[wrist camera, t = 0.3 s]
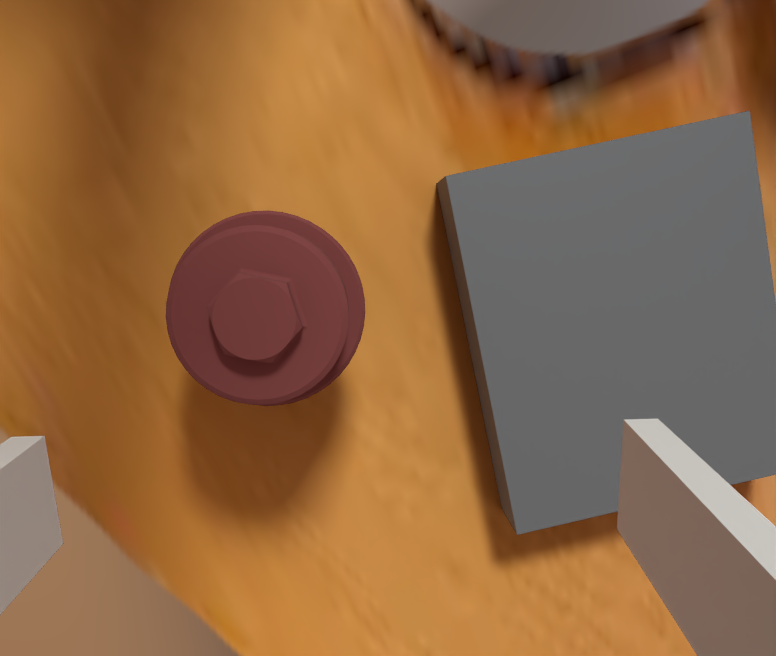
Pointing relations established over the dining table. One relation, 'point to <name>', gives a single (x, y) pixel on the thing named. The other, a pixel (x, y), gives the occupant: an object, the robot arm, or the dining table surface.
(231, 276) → the mechanical component
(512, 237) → the plate
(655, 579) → the robot arm
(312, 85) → the dining table surface
